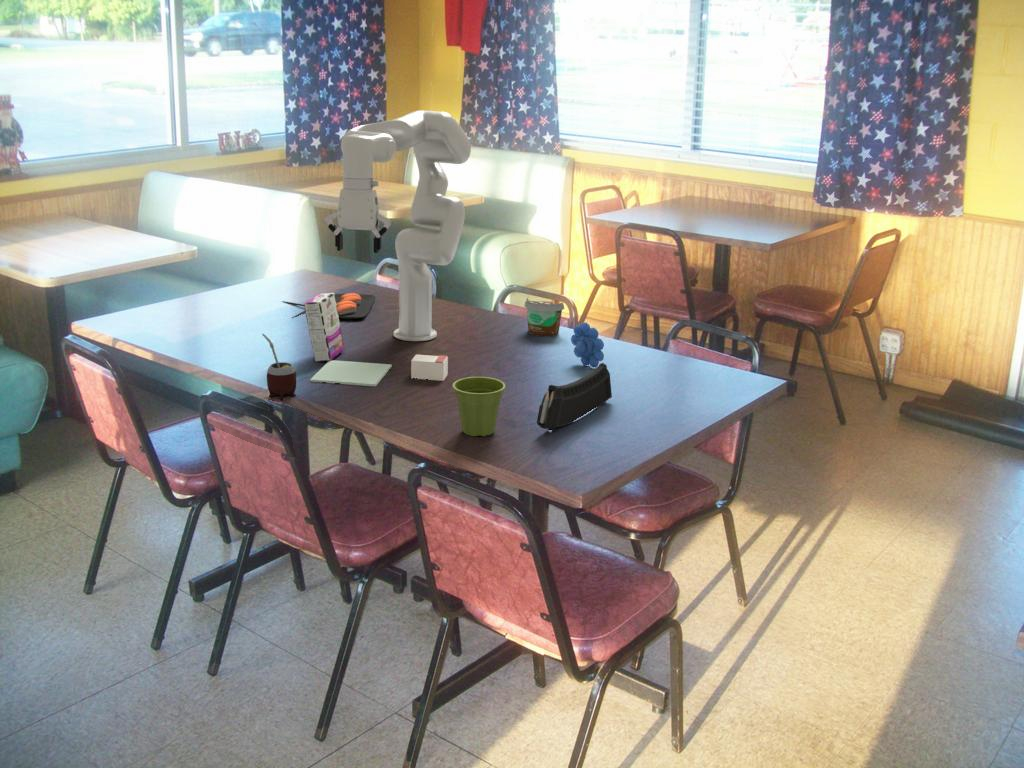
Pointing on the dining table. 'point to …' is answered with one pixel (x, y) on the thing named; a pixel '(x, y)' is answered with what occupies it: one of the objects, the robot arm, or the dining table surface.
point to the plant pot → (478, 404)
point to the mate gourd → (280, 377)
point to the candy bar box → (324, 326)
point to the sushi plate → (349, 305)
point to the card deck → (429, 367)
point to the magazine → (574, 398)
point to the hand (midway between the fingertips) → (358, 251)
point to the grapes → (587, 344)
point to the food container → (543, 317)
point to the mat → (351, 373)
